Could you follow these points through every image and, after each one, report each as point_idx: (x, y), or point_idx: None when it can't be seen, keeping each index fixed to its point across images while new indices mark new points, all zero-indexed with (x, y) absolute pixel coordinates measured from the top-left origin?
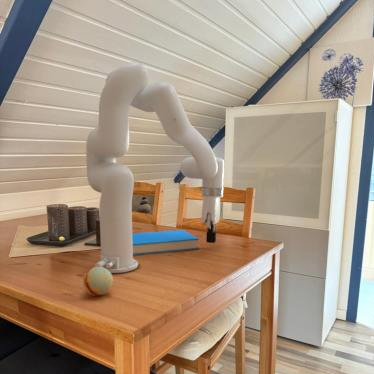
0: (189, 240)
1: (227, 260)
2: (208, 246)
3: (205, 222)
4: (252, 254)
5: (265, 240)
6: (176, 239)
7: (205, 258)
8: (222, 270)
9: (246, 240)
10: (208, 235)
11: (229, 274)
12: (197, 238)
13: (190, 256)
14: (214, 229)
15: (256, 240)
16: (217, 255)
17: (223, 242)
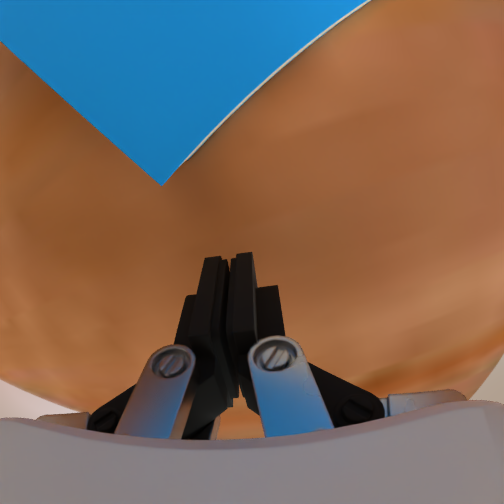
0: (81, 109)
1: (88, 376)
2: (317, 207)
3: (238, 439)
4: (238, 430)
5: (474, 392)
6: (26, 8)
7: (39, 291)
8: (7, 367)
9: (485, 347)
10: (177, 331)
11: (6, 382)
12: (161, 171)
13: (12, 204)
14: (203, 434)
15: (479, 373)
16: (120, 331)
17: (455, 269)
